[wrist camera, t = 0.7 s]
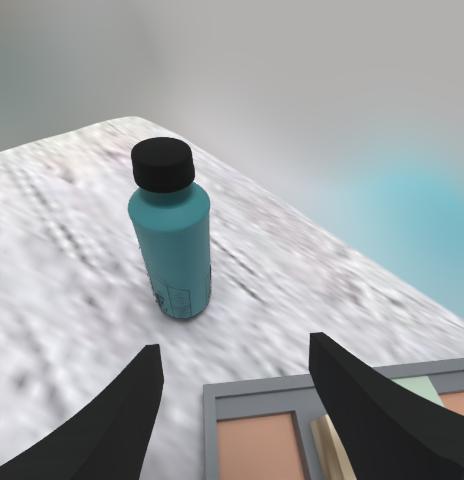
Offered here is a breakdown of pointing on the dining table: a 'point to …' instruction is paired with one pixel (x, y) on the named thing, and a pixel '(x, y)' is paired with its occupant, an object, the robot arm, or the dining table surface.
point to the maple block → (331, 451)
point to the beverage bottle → (172, 225)
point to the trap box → (296, 419)
